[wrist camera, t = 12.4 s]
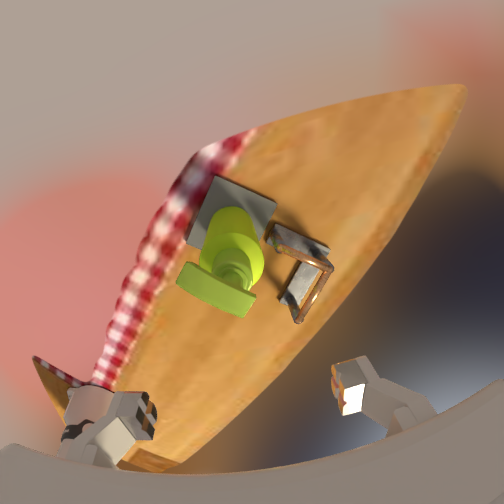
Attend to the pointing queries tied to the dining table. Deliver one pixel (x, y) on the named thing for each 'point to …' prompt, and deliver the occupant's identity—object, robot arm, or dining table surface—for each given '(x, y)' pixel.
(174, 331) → the dining table surface
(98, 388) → the robot arm
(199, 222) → the mat
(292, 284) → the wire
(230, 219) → the soap dispenser
